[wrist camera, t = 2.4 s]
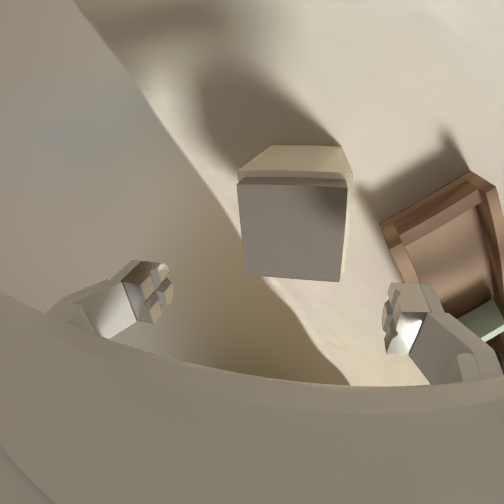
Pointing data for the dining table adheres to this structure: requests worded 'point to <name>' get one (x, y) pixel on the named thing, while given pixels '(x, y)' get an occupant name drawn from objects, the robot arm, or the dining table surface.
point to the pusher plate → (484, 321)
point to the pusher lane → (454, 247)
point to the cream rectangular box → (296, 212)
